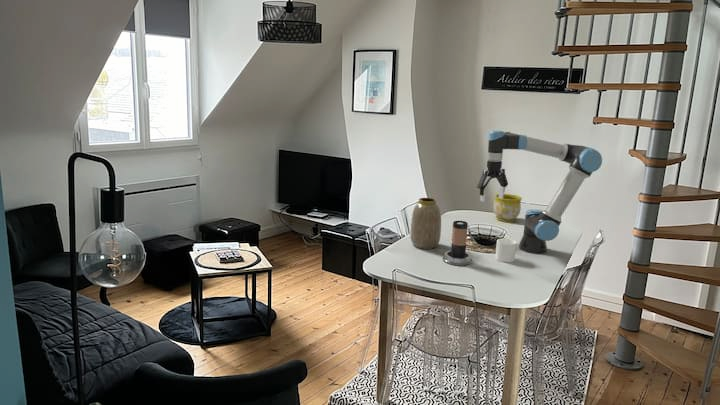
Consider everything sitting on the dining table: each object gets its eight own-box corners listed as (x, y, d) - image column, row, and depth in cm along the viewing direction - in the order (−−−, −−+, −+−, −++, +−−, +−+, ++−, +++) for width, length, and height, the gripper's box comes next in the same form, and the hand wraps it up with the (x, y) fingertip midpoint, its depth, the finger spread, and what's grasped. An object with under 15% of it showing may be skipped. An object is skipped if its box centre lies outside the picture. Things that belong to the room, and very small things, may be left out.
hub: (472, 258, 282) (472, 251, 282) (471, 267, 268) (471, 260, 267) (444, 254, 286) (444, 248, 285) (441, 263, 272) (442, 257, 271)
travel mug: (468, 260, 276) (471, 223, 271) (457, 262, 272) (460, 225, 267) (457, 255, 282) (460, 219, 277) (447, 258, 278) (449, 221, 273)
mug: (509, 264, 275) (511, 245, 272) (491, 259, 281) (493, 241, 279) (519, 258, 284) (521, 240, 282) (502, 254, 290) (504, 236, 288)
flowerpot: (493, 222, 356) (495, 198, 352) (491, 215, 374) (493, 193, 370) (520, 224, 353) (523, 200, 350) (517, 217, 371) (520, 194, 367)
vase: (443, 243, 306) (446, 198, 300) (434, 251, 291) (437, 204, 284) (415, 239, 313) (418, 195, 307) (405, 246, 298) (408, 200, 291)
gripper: (506, 157, 285) (503, 196, 290) (471, 161, 272) (469, 200, 277) (516, 159, 278) (513, 198, 283) (482, 163, 266) (479, 203, 271)
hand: (491, 199), depth 280 cm, fingers open, 13 cm apart
